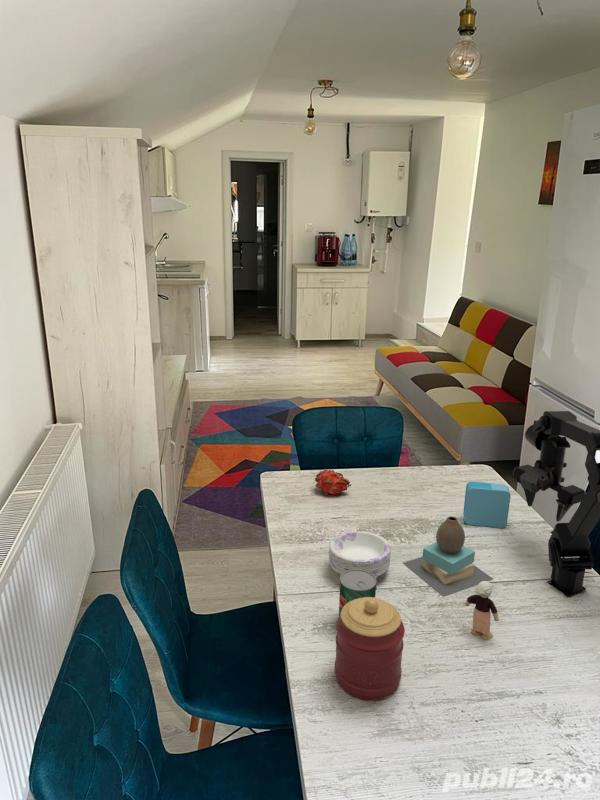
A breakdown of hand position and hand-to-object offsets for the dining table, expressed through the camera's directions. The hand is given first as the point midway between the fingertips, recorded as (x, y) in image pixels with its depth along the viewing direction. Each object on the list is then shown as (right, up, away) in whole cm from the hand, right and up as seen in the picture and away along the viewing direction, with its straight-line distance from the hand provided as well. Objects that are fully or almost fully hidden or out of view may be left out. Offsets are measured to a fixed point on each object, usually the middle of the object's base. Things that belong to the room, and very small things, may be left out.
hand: (543, 513), depth 159 cm
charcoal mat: (-27, -14, -5) cm, 31 cm away
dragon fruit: (-53, 0, +37) cm, 65 cm away
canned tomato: (-51, -20, -24) cm, 60 cm away
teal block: (-27, -11, -7) cm, 29 cm away
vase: (-27, -8, -7) cm, 29 cm away
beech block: (-27, -13, -6) cm, 30 cm away
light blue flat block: (-10, -7, +19) cm, 23 cm away
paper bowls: (-49, -14, -6) cm, 51 cm away
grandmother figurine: (-25, -21, -27) cm, 42 cm away
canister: (-51, -25, -40) cm, 69 cm away
